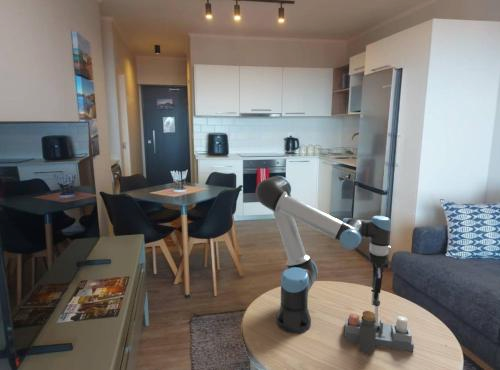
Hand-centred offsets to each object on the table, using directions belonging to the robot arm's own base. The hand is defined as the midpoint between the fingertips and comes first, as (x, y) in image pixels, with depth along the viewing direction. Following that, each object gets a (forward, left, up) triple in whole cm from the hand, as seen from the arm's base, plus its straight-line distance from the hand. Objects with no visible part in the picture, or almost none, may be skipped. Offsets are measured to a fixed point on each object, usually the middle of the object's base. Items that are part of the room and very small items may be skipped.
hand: (374, 304), depth 144 cm
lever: (0, -9, -5) cm, 10 cm away
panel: (+1, -9, -9) cm, 13 cm away
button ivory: (+9, -11, -4) cm, 15 cm away
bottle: (-4, -19, -10) cm, 21 cm away
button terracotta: (-9, -11, -5) cm, 15 cm away
